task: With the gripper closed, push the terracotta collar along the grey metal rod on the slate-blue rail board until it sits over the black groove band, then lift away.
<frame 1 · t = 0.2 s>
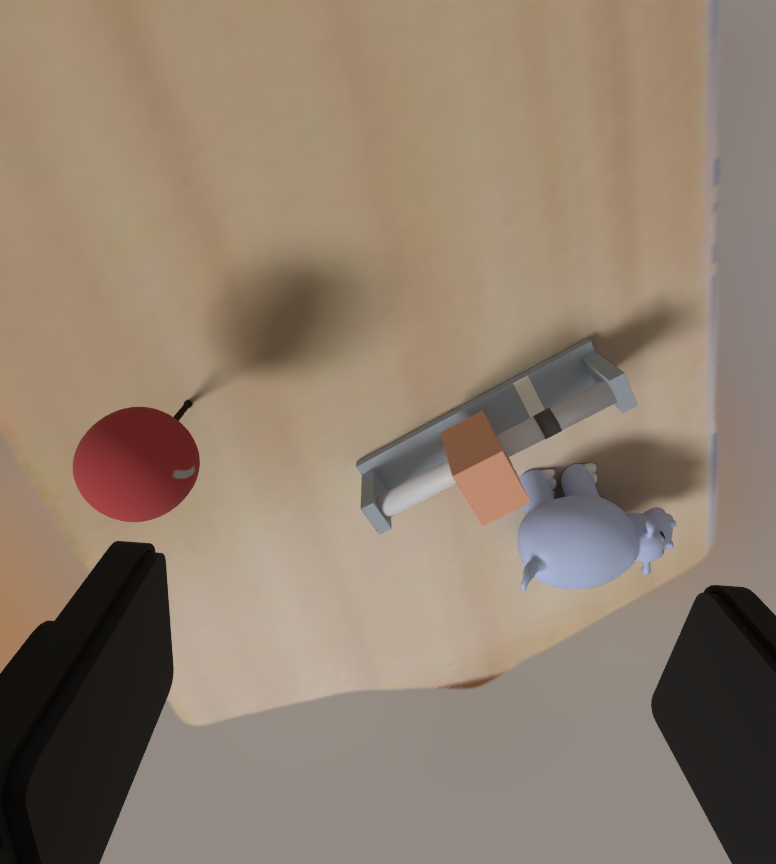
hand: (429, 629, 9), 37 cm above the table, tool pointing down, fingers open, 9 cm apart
hippopotamus toy: (571, 509, 53), on the table
collar: (482, 465, 42), point 7 cm above the table, slide at -1.0 cm
rail: (478, 424, 48), on the table
lollipop: (190, 402, 47), on the table
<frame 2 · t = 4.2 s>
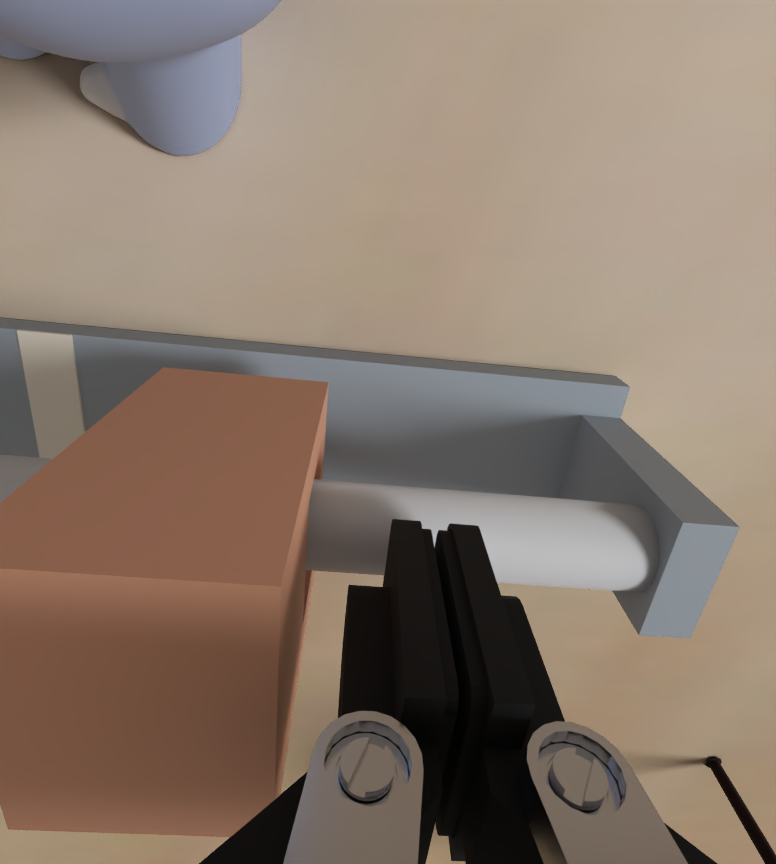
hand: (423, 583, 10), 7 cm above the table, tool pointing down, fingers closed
collar: (206, 552, 11), point 7 cm above the table, slide at -0.8 cm, touching gripper
rail: (240, 418, 17), on the table
lollipop: (707, 756, 24), on the table
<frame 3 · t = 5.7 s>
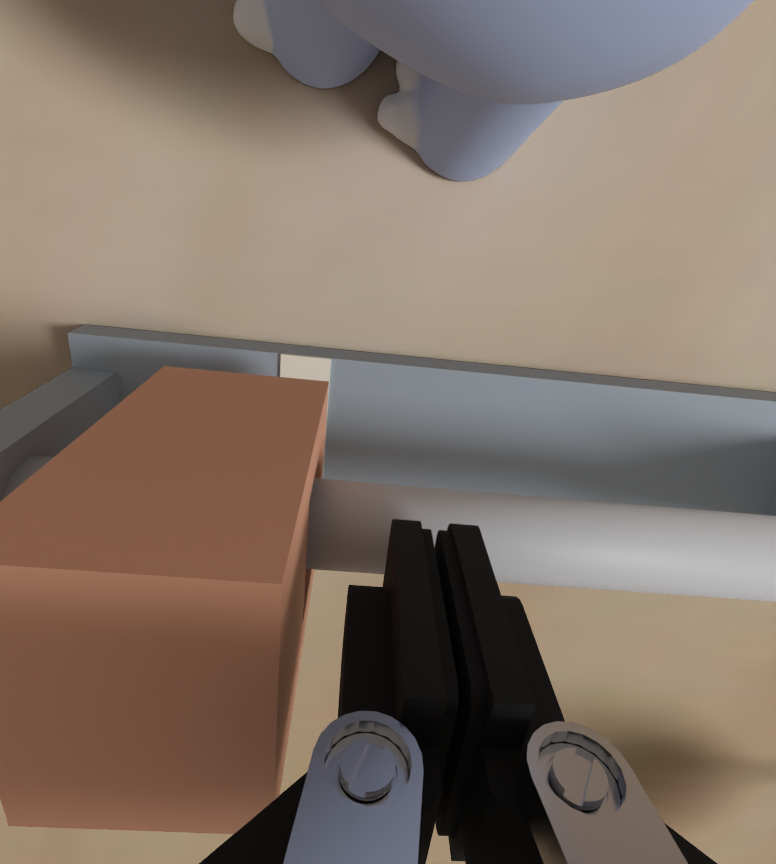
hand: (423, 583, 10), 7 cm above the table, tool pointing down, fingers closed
collar: (207, 550, 11), point 7 cm above the table, slide at 6.2 cm, touching gripper
rail: (461, 436, 17), on the table
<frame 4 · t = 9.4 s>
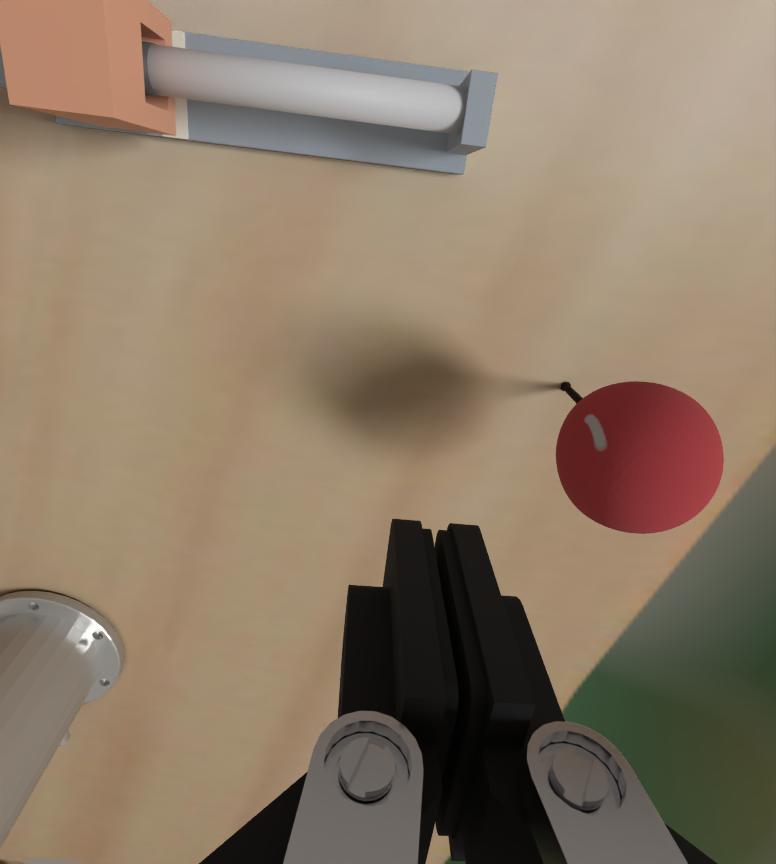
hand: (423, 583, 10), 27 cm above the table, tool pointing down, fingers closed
collar: (99, 58, 24), point 7 cm above the table, slide at 6.3 cm
rail: (269, 101, 30), on the table
lollipop: (562, 384, 38), on the table
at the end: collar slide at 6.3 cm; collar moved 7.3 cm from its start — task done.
